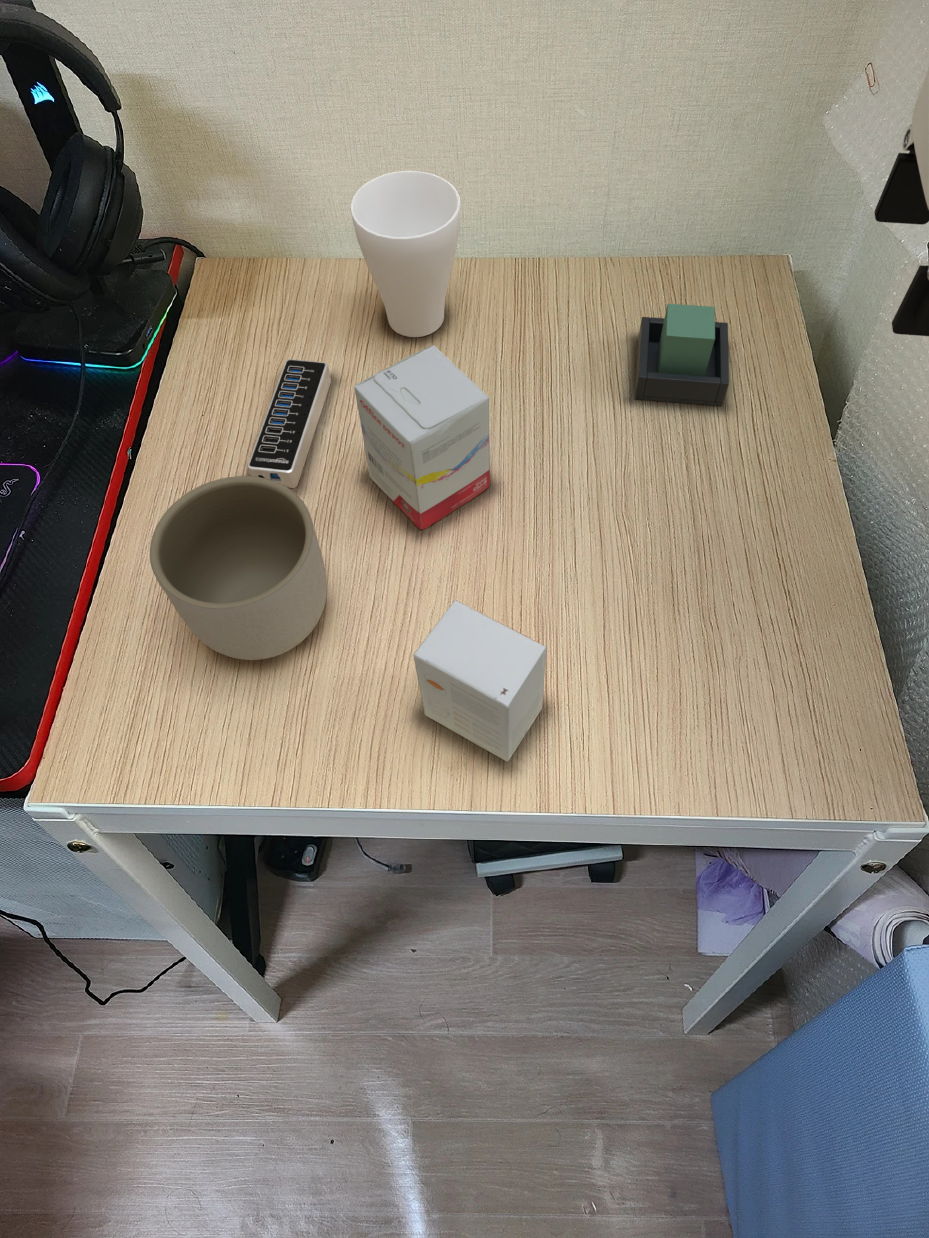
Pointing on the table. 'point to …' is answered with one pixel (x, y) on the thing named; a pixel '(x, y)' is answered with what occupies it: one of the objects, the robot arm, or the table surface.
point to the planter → (242, 566)
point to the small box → (481, 679)
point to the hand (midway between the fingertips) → (909, 273)
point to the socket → (675, 385)
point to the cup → (409, 245)
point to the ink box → (425, 435)
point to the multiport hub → (290, 422)
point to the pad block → (686, 340)
